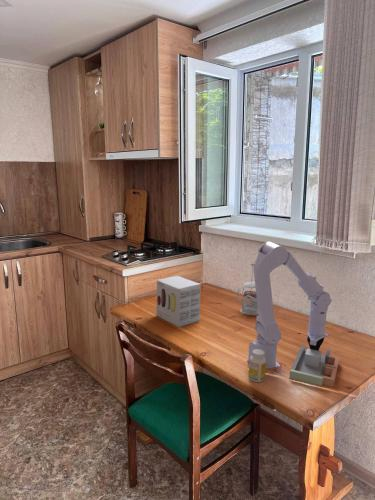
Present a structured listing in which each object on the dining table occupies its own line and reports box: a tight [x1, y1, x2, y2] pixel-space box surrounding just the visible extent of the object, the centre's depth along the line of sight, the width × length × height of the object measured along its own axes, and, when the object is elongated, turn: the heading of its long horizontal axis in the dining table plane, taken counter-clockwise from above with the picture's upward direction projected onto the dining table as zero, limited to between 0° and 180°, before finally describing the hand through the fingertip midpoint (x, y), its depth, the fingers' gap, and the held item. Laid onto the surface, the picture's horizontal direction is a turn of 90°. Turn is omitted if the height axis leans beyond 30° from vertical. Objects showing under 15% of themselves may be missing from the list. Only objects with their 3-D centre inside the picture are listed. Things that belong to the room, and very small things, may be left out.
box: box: [289, 344, 340, 388], centre depth 133 cm, size 23×14×3 cm, turn 153°
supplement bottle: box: [248, 349, 267, 383], centre depth 125 cm, size 5×5×10 cm
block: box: [304, 348, 323, 368], centre depth 135 cm, size 5×5×4 cm
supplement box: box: [155, 275, 202, 328], centre depth 175 cm, size 17×13×18 cm
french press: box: [236, 262, 259, 316], centre depth 186 cm, size 10×12×25 cm
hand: (313, 355), depth 139 cm, fingers closed
